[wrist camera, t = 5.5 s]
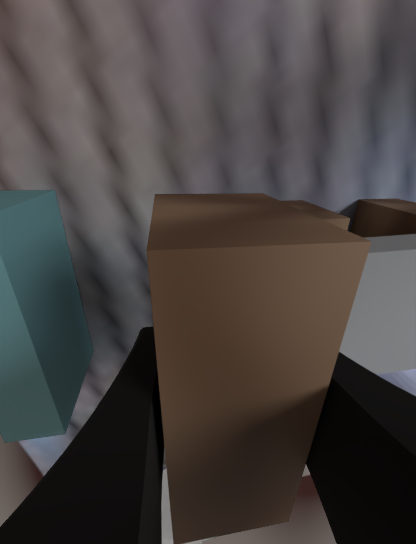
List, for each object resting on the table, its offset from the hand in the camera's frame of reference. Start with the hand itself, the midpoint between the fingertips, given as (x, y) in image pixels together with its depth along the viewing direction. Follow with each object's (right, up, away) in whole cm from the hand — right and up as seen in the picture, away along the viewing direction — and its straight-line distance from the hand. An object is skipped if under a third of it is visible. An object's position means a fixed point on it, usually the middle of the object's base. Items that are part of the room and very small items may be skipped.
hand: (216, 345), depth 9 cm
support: (0, +1, +1) cm, 2 cm away
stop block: (-11, +2, +8) cm, 14 cm away
